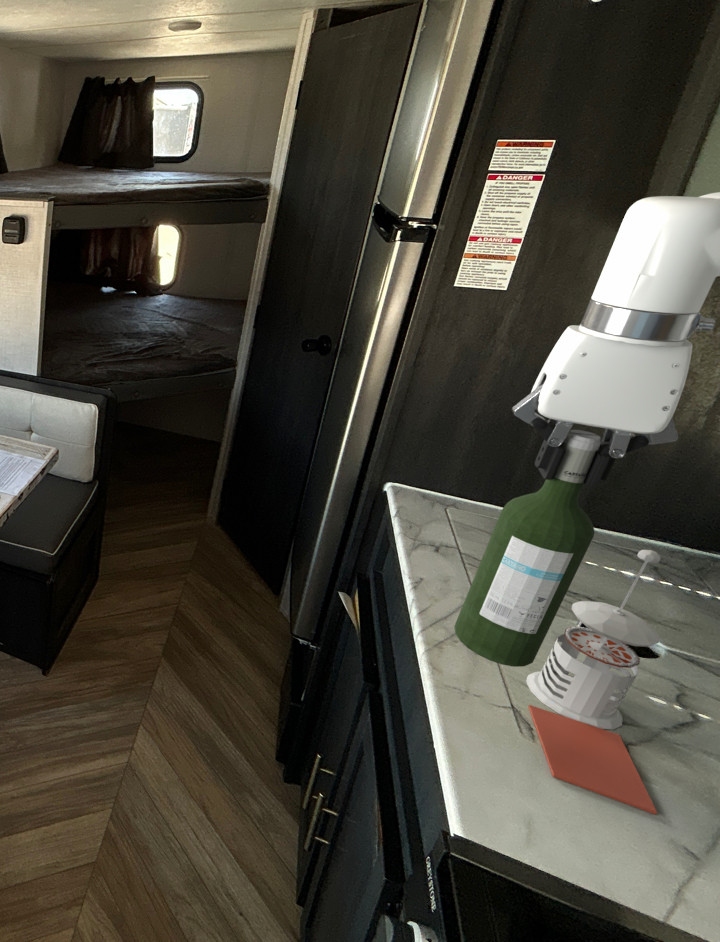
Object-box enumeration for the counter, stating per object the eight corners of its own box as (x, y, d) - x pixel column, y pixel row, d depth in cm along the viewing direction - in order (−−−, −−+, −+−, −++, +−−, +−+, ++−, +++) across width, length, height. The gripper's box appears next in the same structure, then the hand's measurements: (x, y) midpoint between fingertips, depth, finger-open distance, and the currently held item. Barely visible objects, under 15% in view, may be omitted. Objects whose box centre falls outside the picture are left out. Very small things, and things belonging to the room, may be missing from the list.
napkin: (618, 736, 82) (619, 734, 82) (656, 814, 73) (657, 812, 73) (528, 706, 87) (529, 704, 87) (552, 776, 77) (553, 774, 77)
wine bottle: (520, 633, 82) (615, 427, 71) (544, 677, 76) (653, 457, 64) (445, 615, 85) (525, 414, 74) (462, 655, 79) (553, 442, 68)
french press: (529, 704, 87) (604, 555, 78) (521, 653, 96) (587, 514, 86) (631, 743, 81) (724, 587, 72) (612, 685, 90) (693, 540, 81)
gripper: (734, 325, 63) (654, 483, 70) (521, 304, 71) (468, 448, 78) (775, 344, 57) (683, 515, 64) (538, 319, 65) (479, 474, 72)
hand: (566, 477), depth 71 cm, fingers closed on wine bottle, 2 cm apart
